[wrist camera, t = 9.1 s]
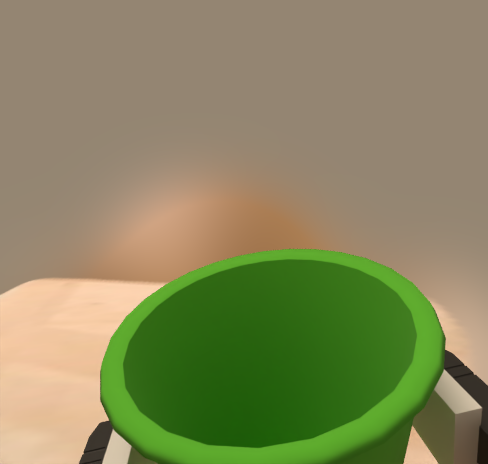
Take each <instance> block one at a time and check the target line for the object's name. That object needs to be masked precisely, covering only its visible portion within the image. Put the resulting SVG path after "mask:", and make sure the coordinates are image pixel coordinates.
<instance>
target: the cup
mask: <svg viewBox="0 0 488 464" xmlns="http://www.w3.org/2000/svg"><path fill="white" fill-rule="evenodd" d="M445 340H446V338H445V335H444V332H443V330H442V327H441V325H440V322H439V319H438V317H437V314H436V312H435V310H434V308H433V306H432V305H431V303H430V302H429V301H428V300H427V298H426V297H425V296H424V295H423V294H422V293H421V292H420V291H419V290H418V288H417V287H416V286H415V285H414V284H413V283H412V282H411V281H409V280H407V279H406V278H405V277H403V276H402V275H400V274H399V273H397V272H396V271H394V270H393V269H391V268H389V267H386V266H384V265H381V264H379V263H376V262H374V261H371V260H369V259H367V258H363V257H359V256H354V255H350V254H346V253H342V252H335V251H325V250H317V249H285V250H273V251H263V252H257V253H252V254H247V255H241V256H237V257H233V258H230V259H226V260H223V261H219V262H215V263H212V264H210V265H207V266H204V267H202V268H199V269H197V270H194V271H192V272H189V273H187V274H185V275H183V276H181V277H180V278H178V279H176V280H174V281H172V282H170V283H168V284H166V285H165V286H163V287H162V288H160V289H159V290H157V291H156V292H155V293H153V294H152V295H150V296H149V297H147V298H146V299H145V300H144V301H142V302H141V303H140V304H139V305H138V306H137V307H136V308H135V309H134V310H133V311H132V312H131V313H130V314H129V315H128V316H126V318H125V319H124V321H123V322H122V323H121V325H120V326H119V328H118V329H117V330H116V332H115V333H114V335H113V336H112V337H111V340H110V342H109V345H108V348H107V350H106V353H105V356H104V359H103V361H102V366H101V371H100V401H101V403H102V405H103V407H104V410H105V412H106V414H107V416H108V418H109V421H110V423H111V425H112V427H113V429H114V431H115V432H116V433H117V434H118V435H120V436H121V437H122V438H123V439H124V440H125V441H126V442H127V443H129V444H130V445H131V446H132V447H133V448H134V449H135V450H136V451H138V452H139V453H140V454H141V455H142V456H143V457H144V458H146V459H149V460H151V461H154V462H156V463H158V464H403V462H404V458H405V454H406V449H407V445H408V441H409V436H410V432H411V427H412V423H413V419H414V417H415V416H416V415H417V414H418V413H419V412H420V411H421V410H423V409H424V408H425V406H426V404H427V402H428V400H429V398H430V396H431V394H432V392H433V390H434V389H435V387H436V385H437V383H438V381H439V379H440V377H441V375H442V373H443V372H444V357H445Z"/></svg>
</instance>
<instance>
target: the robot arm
mask: <svg viewBox="0 0 488 464" xmlns="http://www.w3.org/2000/svg"><path fill="white" fill-rule="evenodd" d="M412 425H413V427H414V428H415V430H416V431H417V433H418V434H419V436H420V437H421V438H422V440H423V441H424V443H425V444H426V446H427V447H428V449H429V450H430V451H431V453H432V454H433V456H434V457H435V459H436V460H437V462H438V463H439V464H488V386H487V385H486V384H485V383H484V382H483V381H482V380H481V379H480V378H479V377H478V376H477V375H474V373H473V372H472V371H471V370H470V369H469V368H468V367H467V366H464V363H462V362H461V361H460V360H459V359H458V358H457V357H456V356H455V355H454V354H453V353H451V352H449V351H447V350H445V357H444V372H443V373H442V375H441V377H440V379H439V381H438V383H437V385H436V387H435V389H434V390H433V392H432V394H431V396H430V398H429V400H428V402H427V404H426V406H425V408H424V409H423V410H421V411H420V412H419V413H418V414H417V415H416V416H415V417H414V419H413V423H412ZM79 464H158V463H156V462H154V461H151V460H149V459H146V458H144V457H143V456H142V455H141V454H140V453H139V452H138V451H136V450H135V449H134V448H133V447H132V446H131V445H130V444H129V443H127V442H126V441H125V440H124V439H123V438H122V437H121V436H120V435H118V434H117V433H116V432H115V431H114V429H113V427H112V425H111V423H110V421H105V422H101V423H99V425H98V426H97V427H96V429H95V430H94V431H93V433H92V434H91V435H90V437H89V439H88V442H87V444H86V447H85V449H84V454H83V455H82V457H81V460H80V462H79Z"/></svg>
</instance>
